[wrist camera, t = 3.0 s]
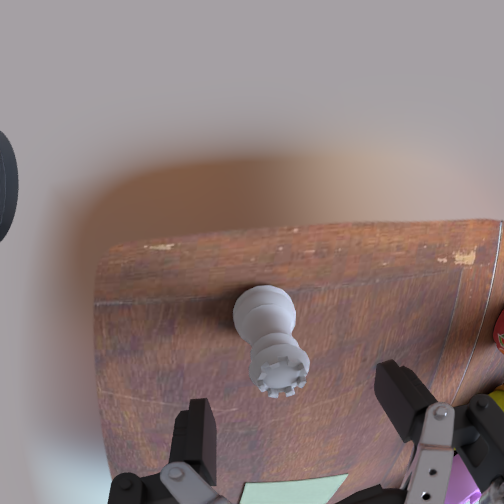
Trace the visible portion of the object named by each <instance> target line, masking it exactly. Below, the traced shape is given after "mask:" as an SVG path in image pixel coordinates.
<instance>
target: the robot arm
mask: <svg viewBox="0 0 504 504" xmlns="http://www.w3.org/2000/svg"><path fill="white" fill-rule="evenodd" d="M374 391H375V395H376V397H377V399H378V401H379V402H380V404H381V406H382V407H383V409H384V411H385V412H386V414H387V416H388V417H389V419H390V420H391V422H392V424H393V425H394V427H395V429H396V430H397V432H398V434H399V435H400V437H401V439H402V440H403V442H404V443H406V442H408V441H410V440H412V441H413V443H414V445H413V448H412V452H411V456H410V459H409V463H408V466H407V470H406V473H405V476H404V479H403V481H402V484H401V486H400V489H397V488H386V489H382V487H381V485H380V484H378V485H376V486H373V487H370V488H367V489H364V490H361V491H358V492H356V493H354V494H352V495H351V496H349V497H347V498H345V499H343V500H341V501H339V502H337V503H335V504H444V501H445V497H446V493H447V489H448V484H449V479H450V474H451V468H452V462H453V456H454V448H455V449H456V451H457V452H458V454H459V456H460V457H461V459H462V461H463V462H464V464H465V466H466V468H467V469H468V471H469V473H470V474H471V476H472V478H473V480H474V481H475V483H476V485H477V487H478V488H479V490H480V492H481V494H482V495H481V497H480V499H479V504H504V412H503V410H502V409H501V408H500V407H499V406H498V404H497V403H496V402H495V401H494V400H493V399H492V398H491V397H490V396H489V395H486V394H477V395H475V396H473V397H472V398H471V400H470V402H469V404H467V405H462V406H457V407H452V406H451V405H450V404H448V403H445V402H438V401H437V400H436V399H435V397H434V396H433V395H432V394H431V393H430V391H429V390H428V389H427V388H426V386H425V385H424V384H422V382H421V380H420V379H419V378H418V377H417V376H416V374H415V373H414V372H413V371H412V370H410V369H409V368H407V367H405V366H402V367H399V366H398V365H397V363H396V362H395V361H394V360H393V359H391V360H388V361H385V362H382V363H379V364H377V367H376V376H375V384H374ZM211 486H216V423H215V419H214V416H213V413H212V410H211V407H210V405H209V402H208V399H207V398H201V399H191V400H190V405H189V410H185V411H181V412H180V413H179V415H178V416H177V417H176V419H175V425H174V431H173V438H172V444H171V451H170V458H169V463H168V464H167V465H166V466H164V467H163V469H162V470H161V472H160V473H157V474H154V475H150V476H146V477H141V478H139V477H138V476H137V475H136V474H133V473H122V474H119V475H117V476H116V477H115V478H114V479H113V481H112V483H111V488H110V493H109V499H108V504H232V503H231V502H230V501H229V500H227V499H226V498H225V497H224V496H222V495H219V494H218V493H217V492H216V491H215V490H214V489H213V488H212V487H211Z"/></svg>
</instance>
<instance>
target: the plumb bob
mask: <svg viewBox="0 0 504 504" xmlns="http://www.w3.org/2000/svg"><path fill="white" fill-rule="evenodd" d="M488 395H489V396H490V397H491V398H492V399H493V400H494V401H495V402H496V403H497V404H498V406H499V407H500V408H501V409H502V410H503V412H504V383H503V384H502V385H501V386H498V387H497V388H495V390H494V391H493V392H492V393H490V394H488ZM454 450H456V449H455V448H454Z"/></svg>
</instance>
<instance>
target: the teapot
mask: <svg viewBox="0 0 504 504" xmlns="http://www.w3.org/2000/svg"><path fill="white" fill-rule="evenodd" d="M481 495H482V494H481V493H480V490H479V488H478V487H477V485H476V483H475V481H474V480H473V478H472V476H471V474H470V473H469V471H468V469H467V468H466V466H465V464H464V462H463V461H462V459H461V457H460V456H459V454H457V455H455V456H454V457H453V462H452V468H451V474H450V479H449V484H448V489H447V493H446V497H445V501H444V504H465V503H466V502H468V501H469V500H470V504H474V503H475V502H477V501H478V500H479V499H480V497H481Z"/></svg>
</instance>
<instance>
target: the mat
mask: <svg viewBox="0 0 504 504" xmlns="http://www.w3.org/2000/svg"><path fill="white" fill-rule="evenodd" d="M347 476H348V473H347V474H342V475H336V476H329V477H322V478H314V479H306V480H295V481H282V482H258V483H246V484H245V487H244V491H243V494H242V497H241V500H240V503H239V504H326V503H327V502H328V500H329V499H330V498H331V497H332V495H333V494H334V493H335V492H336V490H337V489H338V488H339V486H340V485H341V484H342V482H343V481H344V480H345V478H346V477H347Z"/></svg>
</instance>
